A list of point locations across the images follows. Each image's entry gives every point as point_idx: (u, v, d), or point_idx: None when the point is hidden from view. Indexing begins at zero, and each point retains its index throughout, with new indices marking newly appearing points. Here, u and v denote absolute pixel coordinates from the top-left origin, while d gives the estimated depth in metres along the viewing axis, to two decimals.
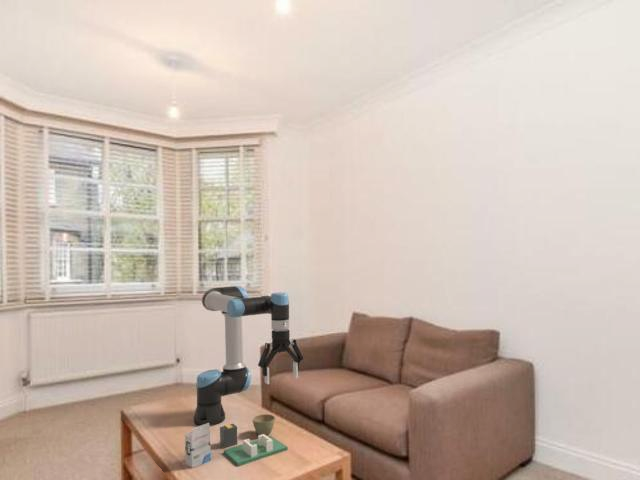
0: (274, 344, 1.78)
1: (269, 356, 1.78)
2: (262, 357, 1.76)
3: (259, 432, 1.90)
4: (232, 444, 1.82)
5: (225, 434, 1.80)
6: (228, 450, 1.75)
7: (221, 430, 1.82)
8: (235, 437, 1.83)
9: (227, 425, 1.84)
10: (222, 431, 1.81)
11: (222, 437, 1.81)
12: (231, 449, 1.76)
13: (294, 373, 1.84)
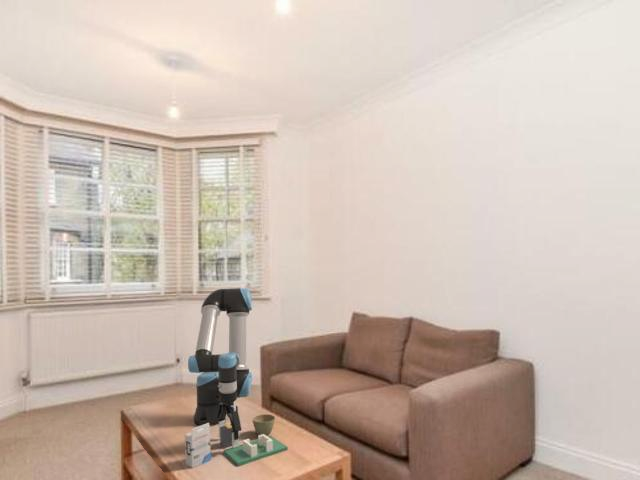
0: (222, 402, 1.86)
1: None
2: None
3: (259, 432, 1.90)
4: None
5: (225, 434, 1.80)
6: (228, 450, 1.75)
7: (221, 430, 1.82)
8: None
9: (227, 425, 1.84)
10: (222, 431, 1.81)
11: (222, 437, 1.81)
12: (231, 449, 1.76)
13: None
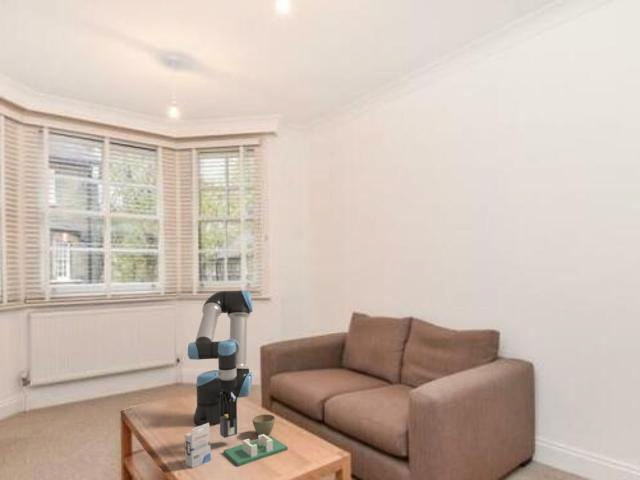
0: (222, 389, 1.86)
1: None
2: None
3: (259, 432, 1.90)
4: (232, 434, 1.83)
5: (225, 424, 1.81)
6: (228, 450, 1.75)
7: (221, 420, 1.82)
8: (235, 427, 1.83)
9: (227, 415, 1.84)
10: (222, 420, 1.81)
11: (222, 427, 1.82)
12: (231, 449, 1.76)
13: None
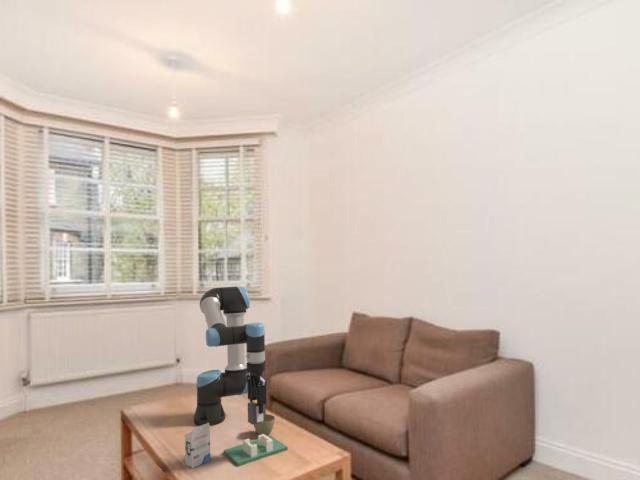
0: (249, 374, 1.78)
1: None
2: None
3: (259, 432, 1.90)
4: None
5: (254, 410, 1.72)
6: (228, 450, 1.75)
7: (249, 406, 1.73)
8: (263, 414, 1.74)
9: (255, 401, 1.75)
10: (250, 406, 1.72)
11: (250, 413, 1.72)
12: (231, 449, 1.76)
13: None
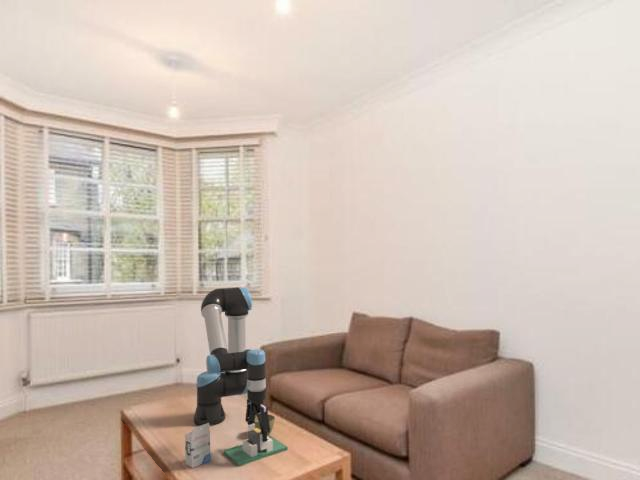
0: (250, 401, 1.77)
1: None
2: None
3: None
4: None
5: (254, 439, 1.72)
6: (228, 450, 1.75)
7: (250, 434, 1.73)
8: None
9: (255, 429, 1.75)
10: (251, 435, 1.72)
11: (251, 442, 1.72)
12: (231, 449, 1.76)
13: None
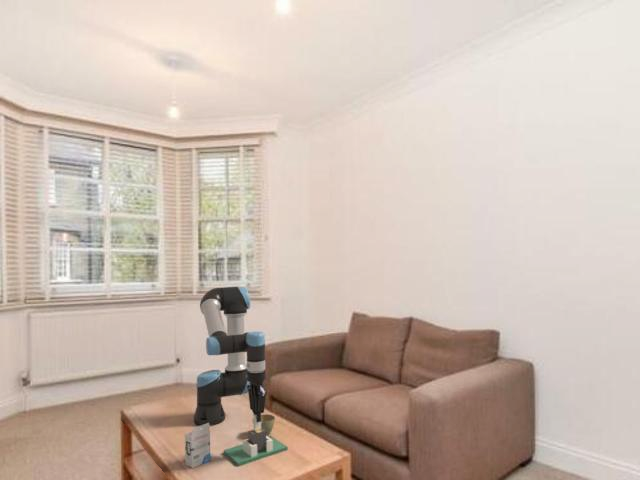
0: (250, 383, 1.78)
1: None
2: None
3: None
4: (261, 449, 1.73)
5: (254, 439, 1.72)
6: (228, 450, 1.75)
7: (250, 434, 1.73)
8: (264, 442, 1.74)
9: None
10: (251, 435, 1.72)
11: (251, 442, 1.72)
12: (231, 449, 1.76)
13: None
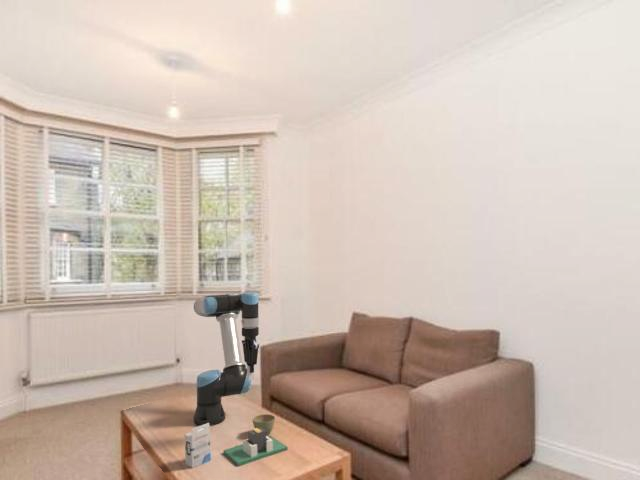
0: None
1: None
2: None
3: None
4: (261, 449, 1.73)
5: (254, 439, 1.72)
6: (228, 450, 1.75)
7: (250, 434, 1.73)
8: (264, 442, 1.74)
9: (255, 429, 1.75)
10: (251, 435, 1.72)
11: (251, 442, 1.72)
12: (231, 449, 1.76)
13: None
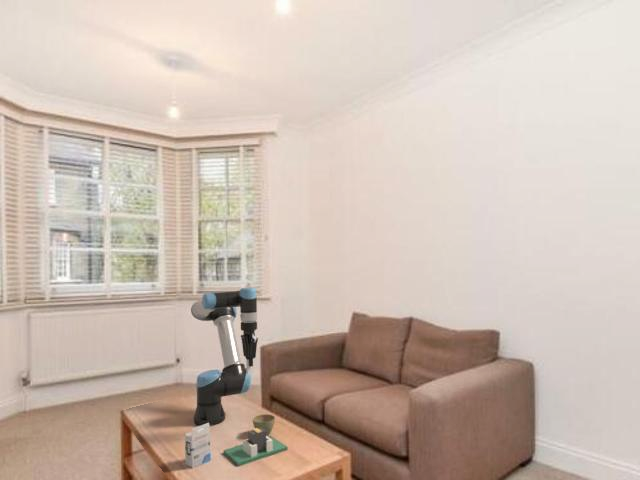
0: (243, 333, 2.01)
1: None
2: None
3: None
4: (261, 449, 1.73)
5: (254, 439, 1.72)
6: (228, 450, 1.75)
7: (250, 434, 1.73)
8: (264, 442, 1.74)
9: (255, 429, 1.75)
10: (251, 435, 1.72)
11: (251, 442, 1.72)
12: (231, 449, 1.76)
13: None
